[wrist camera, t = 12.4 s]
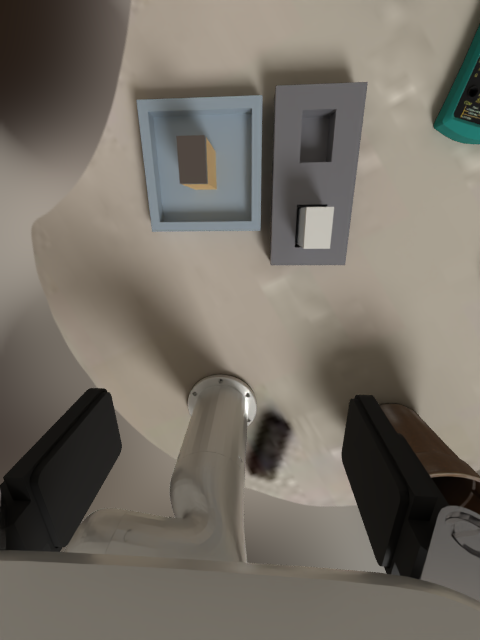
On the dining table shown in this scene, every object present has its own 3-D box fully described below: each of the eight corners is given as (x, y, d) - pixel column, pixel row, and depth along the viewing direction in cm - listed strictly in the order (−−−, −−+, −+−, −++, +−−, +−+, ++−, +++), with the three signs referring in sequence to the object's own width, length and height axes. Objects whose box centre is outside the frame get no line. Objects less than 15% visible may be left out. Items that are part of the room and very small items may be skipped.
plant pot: (357, 472, 55) (394, 568, 40) (326, 413, 51) (355, 497, 36) (441, 445, 52) (516, 540, 37) (416, 379, 47) (491, 457, 32)
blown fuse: (216, 189, 38) (206, 183, 30) (195, 189, 38) (179, 183, 30) (215, 151, 36) (204, 135, 29) (192, 151, 36) (176, 135, 29)
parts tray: (260, 229, 40) (260, 230, 37) (158, 230, 41) (152, 231, 38) (262, 103, 34) (262, 95, 32) (144, 107, 35) (136, 99, 33)
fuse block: (337, 260, 41) (344, 265, 37) (269, 261, 41) (270, 265, 38) (356, 94, 34) (367, 82, 30) (274, 97, 34) (276, 85, 31)
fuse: (316, 242, 39) (329, 248, 32) (294, 242, 40) (303, 248, 32) (319, 208, 38) (334, 206, 30) (297, 208, 38) (306, 207, 31)
